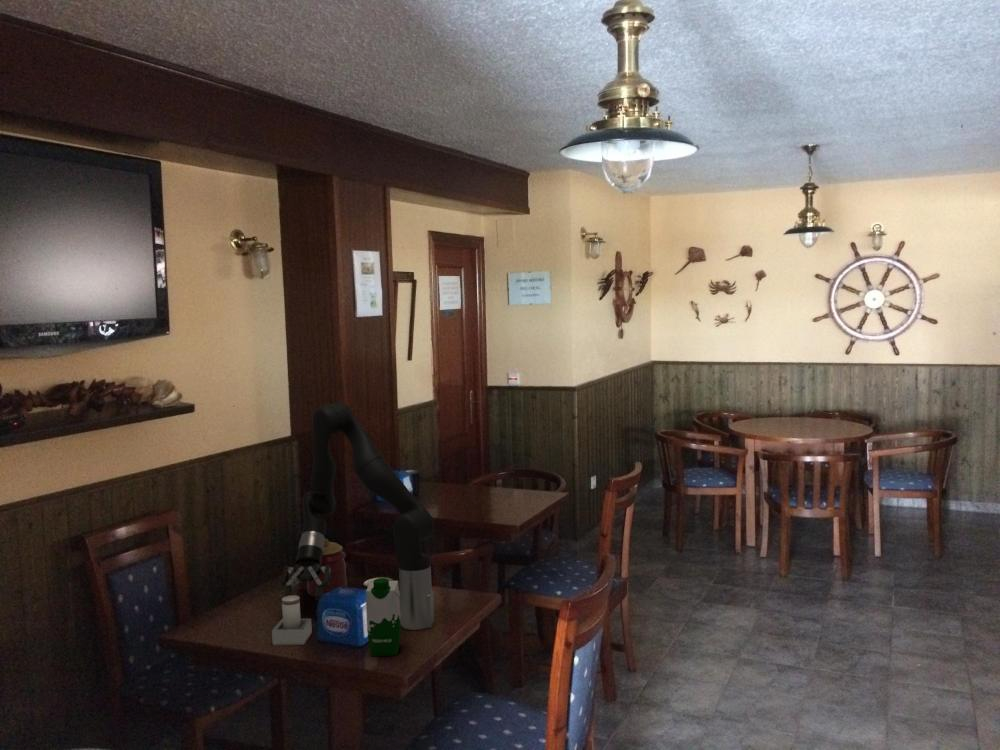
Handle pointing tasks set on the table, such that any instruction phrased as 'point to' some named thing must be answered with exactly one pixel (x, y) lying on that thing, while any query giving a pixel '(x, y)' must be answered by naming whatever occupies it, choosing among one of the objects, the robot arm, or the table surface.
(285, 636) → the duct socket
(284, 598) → the white cylinder
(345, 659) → the table surface
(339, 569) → the canister
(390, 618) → the milk carton
